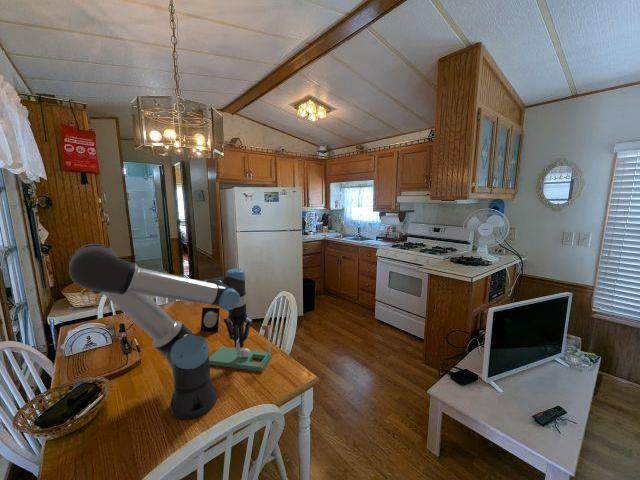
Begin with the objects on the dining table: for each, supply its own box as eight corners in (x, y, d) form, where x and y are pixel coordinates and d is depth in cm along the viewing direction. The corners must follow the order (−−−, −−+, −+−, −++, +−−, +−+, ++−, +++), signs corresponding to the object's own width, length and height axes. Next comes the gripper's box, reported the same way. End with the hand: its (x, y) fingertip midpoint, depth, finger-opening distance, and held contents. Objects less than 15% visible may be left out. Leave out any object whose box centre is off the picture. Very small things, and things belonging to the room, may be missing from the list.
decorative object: (207, 328, 158) (223, 329, 157) (197, 332, 147) (215, 333, 146) (209, 305, 159) (225, 306, 158) (199, 308, 149) (217, 308, 148)
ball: (239, 351, 121) (239, 359, 121) (247, 351, 120) (248, 359, 121) (242, 345, 124) (243, 353, 125) (251, 346, 124) (251, 354, 125)
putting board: (262, 371, 116) (261, 336, 113) (207, 364, 121) (205, 330, 118) (272, 356, 126) (271, 324, 124) (221, 350, 131) (219, 319, 129)
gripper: (254, 301, 122) (256, 350, 126) (227, 299, 124) (230, 347, 128) (247, 308, 114) (249, 360, 118) (218, 306, 117) (222, 356, 121)
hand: (239, 353), depth 123 cm, fingers closed
